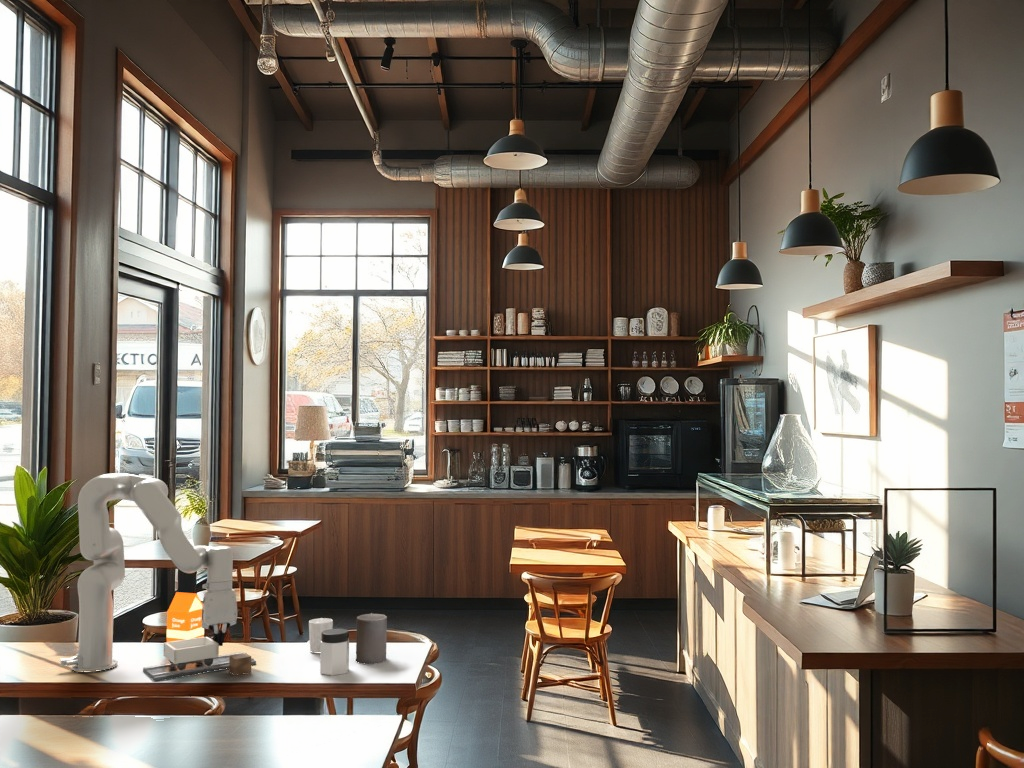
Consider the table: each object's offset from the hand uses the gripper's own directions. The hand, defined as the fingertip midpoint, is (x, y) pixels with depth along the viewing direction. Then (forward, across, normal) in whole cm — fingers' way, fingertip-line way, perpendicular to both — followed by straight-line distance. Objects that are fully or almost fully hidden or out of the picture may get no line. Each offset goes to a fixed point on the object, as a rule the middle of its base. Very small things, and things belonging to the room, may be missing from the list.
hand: (218, 645), depth 260 cm
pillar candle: (+6, +40, -25) cm, 48 cm away
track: (+6, -6, 0) cm, 8 cm away
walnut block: (+6, +2, -13) cm, 15 cm away
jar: (+6, +25, -30) cm, 40 cm away
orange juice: (+6, -4, +20) cm, 21 cm away
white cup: (+6, +32, -4) cm, 33 cm away
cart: (+4, -8, 0) cm, 10 cm away
